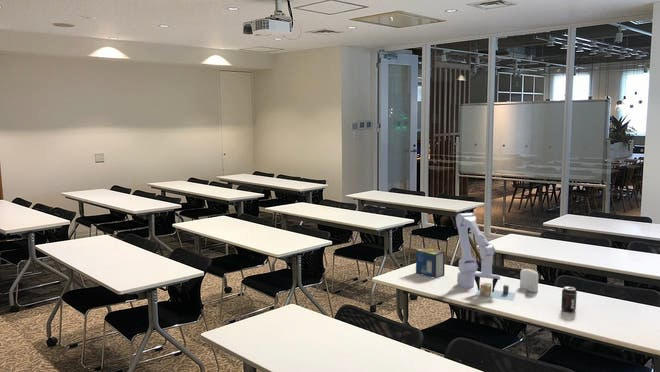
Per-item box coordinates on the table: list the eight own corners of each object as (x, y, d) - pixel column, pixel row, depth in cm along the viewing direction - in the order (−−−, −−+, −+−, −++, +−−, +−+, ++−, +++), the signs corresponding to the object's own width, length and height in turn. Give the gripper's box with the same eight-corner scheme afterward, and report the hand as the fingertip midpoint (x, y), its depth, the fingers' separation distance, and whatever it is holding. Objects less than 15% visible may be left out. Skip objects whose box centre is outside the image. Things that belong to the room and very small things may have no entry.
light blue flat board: (475, 297, 289) (475, 295, 289) (479, 290, 302) (479, 288, 302) (513, 302, 281) (513, 300, 281) (515, 295, 294) (515, 293, 294)
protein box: (426, 270, 344) (426, 247, 342) (444, 275, 332) (445, 251, 330) (415, 273, 338) (415, 249, 336) (433, 278, 326) (434, 254, 324)
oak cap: (480, 295, 289) (480, 284, 289) (481, 292, 294) (481, 282, 293) (489, 296, 287) (490, 286, 287) (491, 293, 292) (491, 283, 291)
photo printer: (518, 288, 305) (519, 268, 303) (522, 287, 307) (523, 267, 306) (535, 293, 297) (536, 272, 295) (539, 291, 299) (540, 270, 298)
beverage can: (577, 313, 265) (578, 290, 264) (562, 312, 266) (564, 289, 265) (573, 308, 272) (575, 286, 270) (559, 308, 273) (560, 285, 272)
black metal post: (503, 294, 291) (503, 286, 291) (503, 292, 294) (503, 284, 293) (507, 294, 290) (508, 286, 290) (508, 293, 293) (508, 285, 292)
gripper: (471, 267, 288) (471, 291, 290) (499, 270, 282) (498, 294, 284) (474, 264, 295) (473, 287, 296) (501, 266, 289) (500, 290, 290)
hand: (485, 290), depth 290 cm, fingers open, 7 cm apart
